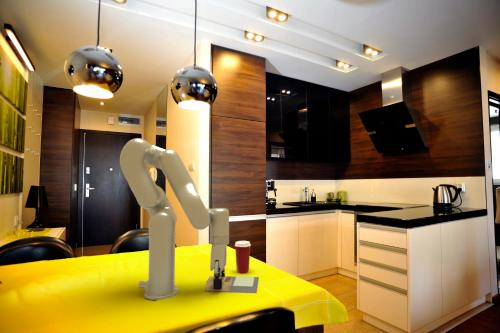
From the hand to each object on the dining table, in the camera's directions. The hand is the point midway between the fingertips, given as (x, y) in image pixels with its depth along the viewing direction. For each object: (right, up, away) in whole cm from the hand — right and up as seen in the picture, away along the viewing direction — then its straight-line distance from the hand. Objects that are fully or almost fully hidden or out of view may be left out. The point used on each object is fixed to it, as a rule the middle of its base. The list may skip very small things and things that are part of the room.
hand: (219, 285), depth 108 cm
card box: (0, -1, 0) cm, 1 cm away
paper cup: (+9, -3, +20) cm, 22 cm away
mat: (+5, -2, +4) cm, 7 cm away
